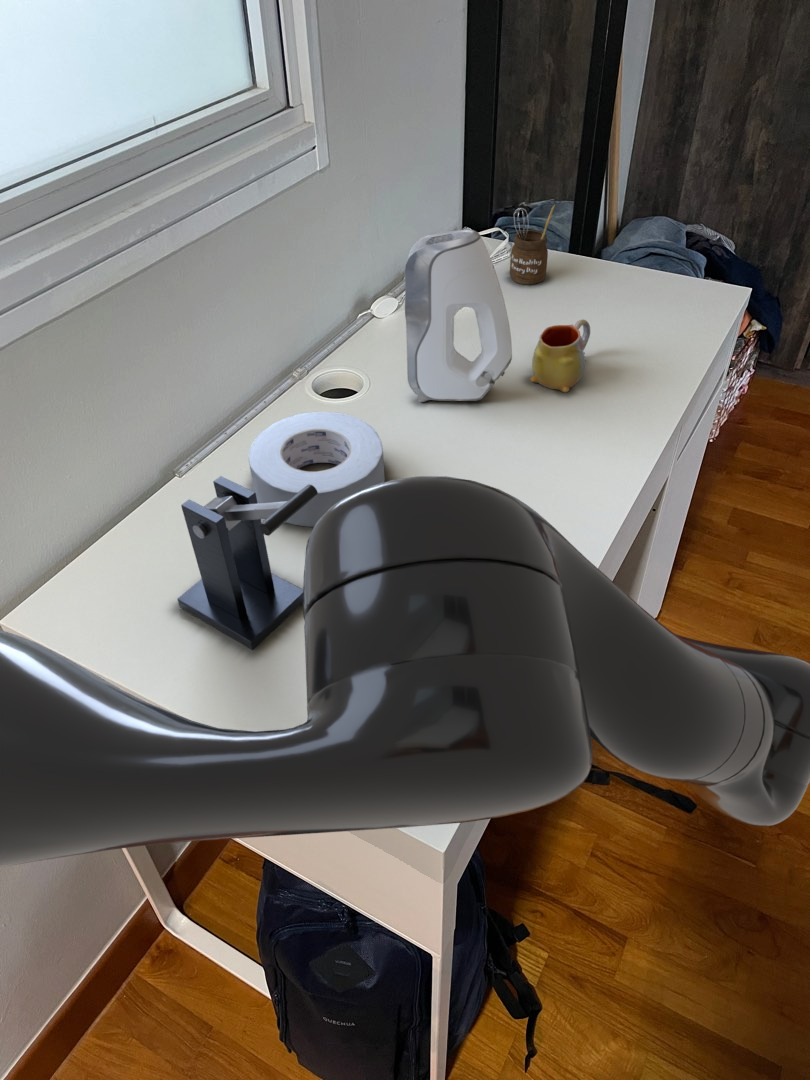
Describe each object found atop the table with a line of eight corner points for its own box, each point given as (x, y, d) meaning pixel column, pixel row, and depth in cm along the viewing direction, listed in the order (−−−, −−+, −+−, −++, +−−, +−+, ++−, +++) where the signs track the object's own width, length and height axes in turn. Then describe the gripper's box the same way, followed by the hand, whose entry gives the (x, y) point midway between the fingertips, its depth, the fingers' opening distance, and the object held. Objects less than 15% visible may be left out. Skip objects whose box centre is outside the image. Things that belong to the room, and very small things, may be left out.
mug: (564, 398, 108) (570, 353, 104) (520, 381, 111) (524, 337, 107) (609, 360, 115) (616, 316, 110) (566, 345, 118) (571, 302, 114)
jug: (407, 402, 108) (401, 239, 94) (412, 381, 112) (407, 221, 98) (508, 407, 107) (518, 241, 92) (509, 385, 111) (520, 223, 96)
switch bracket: (307, 599, 83) (290, 494, 73) (252, 650, 78) (227, 545, 69) (235, 561, 87) (210, 457, 78) (179, 607, 82) (146, 503, 73)
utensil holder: (514, 267, 137) (519, 194, 129) (551, 272, 136) (558, 199, 127) (504, 282, 133) (508, 208, 125) (542, 288, 132) (549, 213, 123)
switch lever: (323, 501, 69) (310, 477, 68) (275, 542, 66) (261, 517, 65) (242, 507, 78) (230, 486, 77) (196, 543, 74) (183, 521, 73)
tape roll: (405, 504, 93) (404, 468, 90) (276, 542, 89) (270, 507, 86) (357, 432, 104) (354, 398, 100) (239, 464, 99) (232, 430, 96)
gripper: (576, 527, 59) (395, 453, 66) (473, 654, 51) (278, 554, 58) (565, 598, 64) (398, 522, 72) (469, 724, 56) (290, 624, 63)
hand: (344, 537), depth 65 cm, fingers open, 8 cm apart
